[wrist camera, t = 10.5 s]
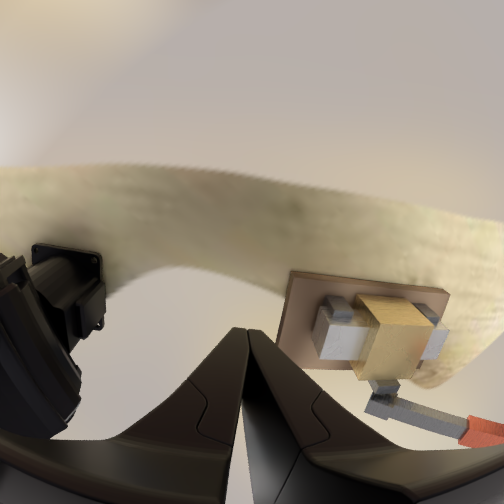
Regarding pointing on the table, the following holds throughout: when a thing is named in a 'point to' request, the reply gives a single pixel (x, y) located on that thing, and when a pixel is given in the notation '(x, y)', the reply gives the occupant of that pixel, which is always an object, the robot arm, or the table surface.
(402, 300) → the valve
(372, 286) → the board
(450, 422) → the lever
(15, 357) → the robot arm
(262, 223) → the table surface
